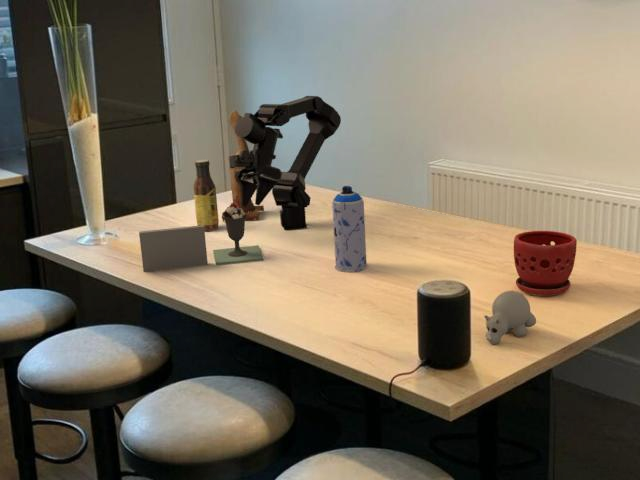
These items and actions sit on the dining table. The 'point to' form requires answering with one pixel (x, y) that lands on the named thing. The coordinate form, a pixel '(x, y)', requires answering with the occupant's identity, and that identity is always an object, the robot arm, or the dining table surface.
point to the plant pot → (544, 262)
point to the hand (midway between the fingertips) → (250, 205)
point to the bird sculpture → (235, 186)
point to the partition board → (173, 248)
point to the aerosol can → (349, 231)
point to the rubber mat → (252, 255)
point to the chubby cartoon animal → (509, 316)
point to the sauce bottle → (205, 197)
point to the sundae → (235, 226)
